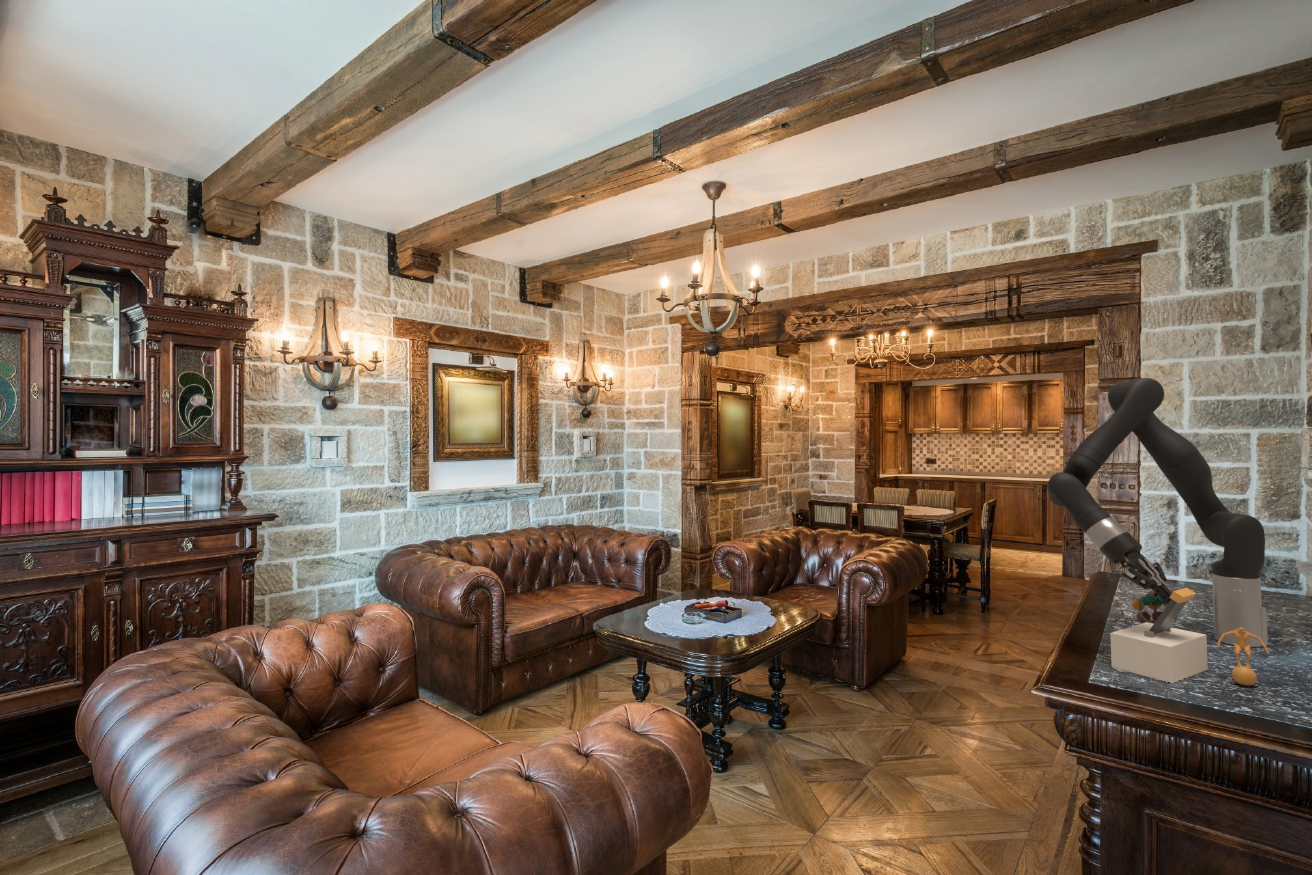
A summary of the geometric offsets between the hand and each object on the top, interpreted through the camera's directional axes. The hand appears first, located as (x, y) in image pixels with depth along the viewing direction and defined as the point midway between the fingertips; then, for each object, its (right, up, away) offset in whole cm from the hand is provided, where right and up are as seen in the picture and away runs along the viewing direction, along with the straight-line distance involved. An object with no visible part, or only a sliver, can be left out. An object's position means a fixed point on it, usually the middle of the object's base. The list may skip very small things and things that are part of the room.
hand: (1172, 601), depth 143 cm
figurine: (+10, -16, -7) cm, 20 cm away
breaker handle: (-1, -7, +3) cm, 8 cm away
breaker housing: (-1, -16, +3) cm, 16 cm away
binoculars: (+25, -16, +37) cm, 47 cm away
